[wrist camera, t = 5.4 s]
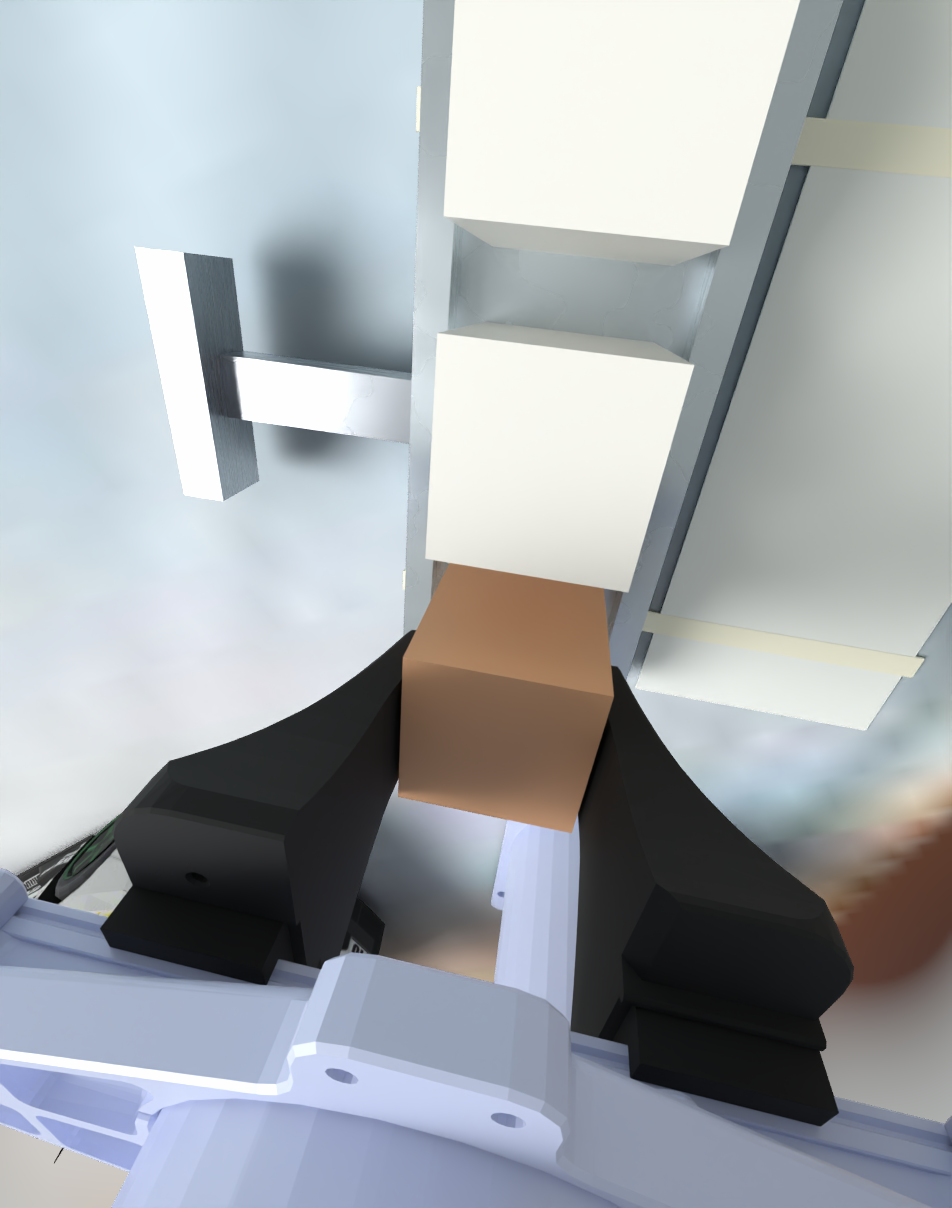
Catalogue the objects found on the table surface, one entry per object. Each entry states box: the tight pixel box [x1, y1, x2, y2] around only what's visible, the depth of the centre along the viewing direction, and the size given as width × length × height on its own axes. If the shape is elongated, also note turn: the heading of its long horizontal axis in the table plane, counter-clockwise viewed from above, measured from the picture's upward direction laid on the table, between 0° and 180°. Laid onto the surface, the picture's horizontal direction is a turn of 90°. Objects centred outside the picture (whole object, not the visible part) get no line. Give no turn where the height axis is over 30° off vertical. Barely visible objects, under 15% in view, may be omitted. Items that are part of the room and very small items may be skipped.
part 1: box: [444, 0, 800, 266], centre depth 8 cm, size 4×4×5 cm
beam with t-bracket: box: [135, 0, 843, 680], centre depth 14 cm, size 18×14×3 cm
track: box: [403, 0, 952, 731], centre depth 15 cm, size 19×18×1 cm
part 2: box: [425, 322, 694, 592], centre depth 11 cm, size 4×4×5 cm
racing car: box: [17, 813, 385, 1163], centre depth 32 cm, size 17×39×12 cm, turn 126°
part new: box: [398, 563, 614, 833], centre depth 13 cm, size 4×4×5 cm
